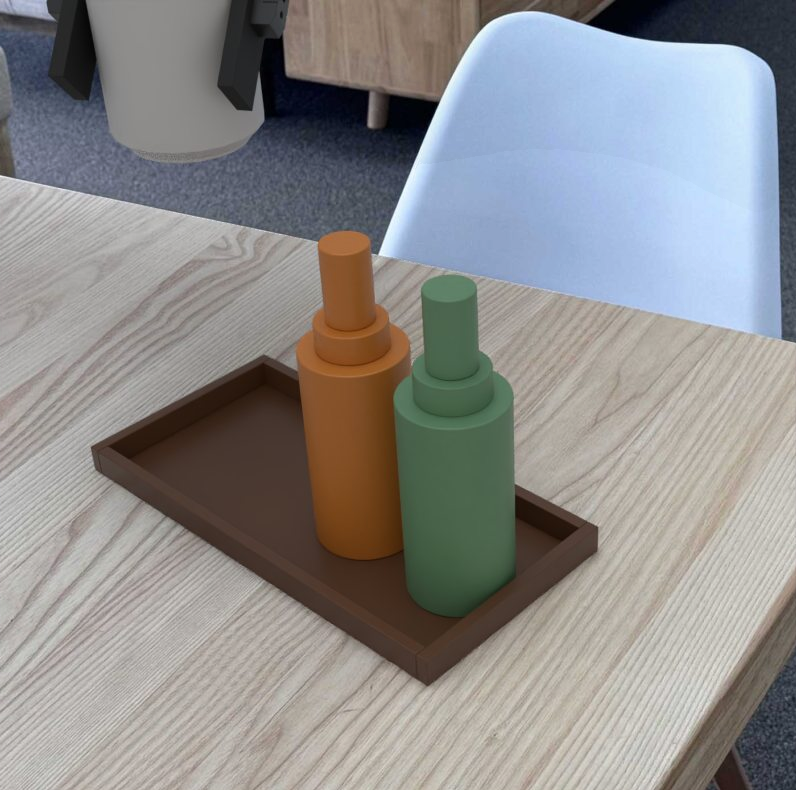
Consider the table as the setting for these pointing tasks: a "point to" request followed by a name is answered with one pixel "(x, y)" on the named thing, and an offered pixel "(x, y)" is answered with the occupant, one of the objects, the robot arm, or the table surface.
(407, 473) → the green bottle
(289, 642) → the table surface
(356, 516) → the amber bottle
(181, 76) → the can
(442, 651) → the tray
